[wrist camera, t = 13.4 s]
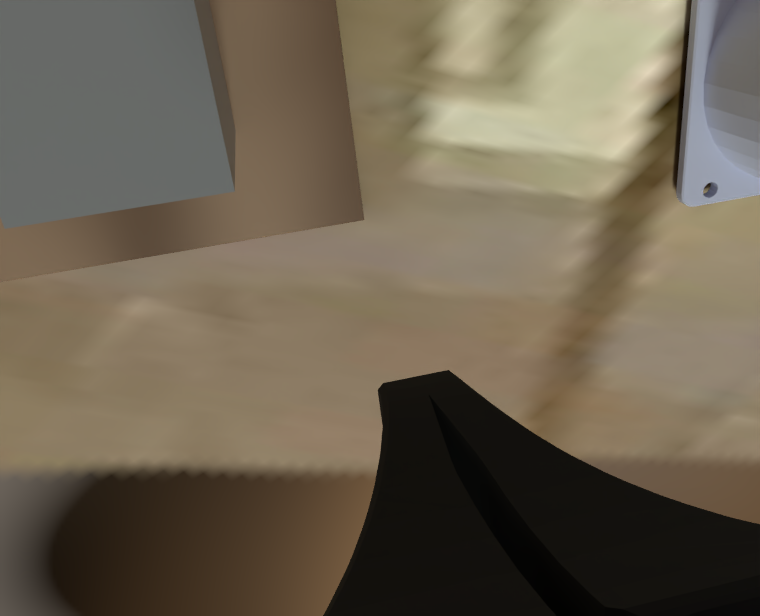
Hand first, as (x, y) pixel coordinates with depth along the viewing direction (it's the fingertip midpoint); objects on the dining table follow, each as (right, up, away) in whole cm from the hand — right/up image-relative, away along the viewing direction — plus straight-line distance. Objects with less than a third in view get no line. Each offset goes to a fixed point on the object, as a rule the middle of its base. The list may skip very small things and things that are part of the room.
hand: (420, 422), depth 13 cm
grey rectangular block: (-7, +9, +5) cm, 12 cm away
